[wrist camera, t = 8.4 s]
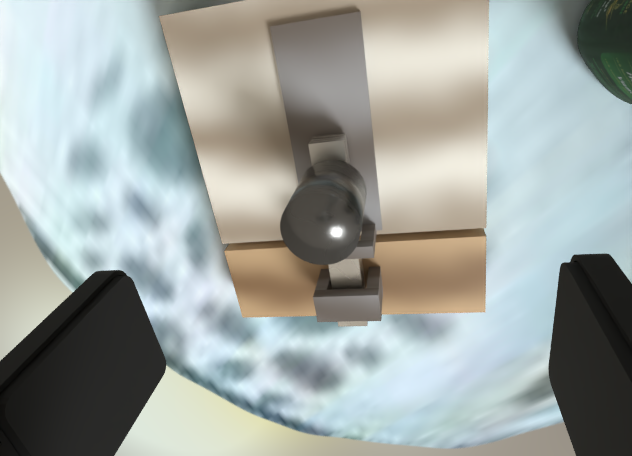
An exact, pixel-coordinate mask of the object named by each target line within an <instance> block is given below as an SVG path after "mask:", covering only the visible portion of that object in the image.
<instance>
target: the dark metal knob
mask: <svg viewBox="0 0 632 456" xmlns="http://www.w3.org/2000/svg"><path fill="white" fill-rule="evenodd" d="M308 146H309V152H310V158H311V164H312V166H311V167H309V168H308V169H307V171H306V172H305V173H304V175H303V177H302V178H301V180H300V182H299V184H298V186H297V188H296V189H295V191H294V193H293V195H292V197H291V199H290V200H289V202H288V204H287V206H286V208H285V210H284V212H283V214H282V217H281V221H280V231H281V236H282V239H283V241H284V243H285V244H286V246H287V247H288V249H289V250H290V251H291V252H292V253H293V254H294V255H296V256H297V257H298V258H300V259H302V260H304V261H306V262H309V263H312V264H317V265H328V266H329V272H330V278H331V284H332V289H361V288H366V286H365V278H364V270H363V262H362V259H345V258H347V257H348V256H349V255H350V254H352V252H353V251H354V250H355V248H356V246H357V244H358V242H359V241H360V239H359V238H360V232H361V226H362V220H363V214H364V208H365V202H366V196H367V188H366V184H365V181H364V179H363V177H362V175H361V174H360V172H359V171H358V170H357V169H356V168H355V167H353V166H352V165H350V160H349V152H348V144H347V136H346V133H341V134H332V135H323V136H314V137H312V139H311V141H310V142H309V144H308ZM367 324H368V321H345V322H338V326H367Z"/></svg>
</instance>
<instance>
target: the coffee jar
mask: <svg viewBox="0 0 632 456" xmlns="http://www.w3.org/2000/svg"><path fill="white" fill-rule="evenodd" d="M577 40H578V47H579V50H580V53H581V55H582V57H583V59H584V61H585V63H586V65H587V66H588V67H589V69H590V70H591V71H592V73H593V74H594V75H595V77H596V78H597V79H598V80H599V82H600V83H601V84H602V85H603V86H604V87H605V88H606V89H607V90H608V91H609V92H611V93H612V94H613V95H615V96H616V97H617V98H619V99H621V100H623V101H625V102H627V103H630V104H632V0H591V2H590V3H589V4H588V6H587V8H586V9H585V11H584V13H583V15H582V18H581V20H580V24H579V27H578V38H577Z"/></svg>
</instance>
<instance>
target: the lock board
mask: <svg viewBox="0 0 632 456" xmlns="http://www.w3.org/2000/svg"><path fill="white" fill-rule="evenodd" d="M159 18H160V22H161V25H162V29H163V33H164V36H165V40H166V43H167V47H168V51H169V54H170V58H171V61H172V65H173V68H174V72H175V76H176V79H177V83H178V86H179V90H180V94H181V97H182V101H183V104H184V108H185V112H186V115H187V119H188V122H189V126H190V130H191V133H192V137H193V140H194V144H195V148H196V151H197V155H198V158H199V162H200V165H201V169H202V173H203V176H204V180H205V183H206V187H207V191H208V194H209V198H210V201H211V205H212V209H213V212H214V216H215V219H216V223H217V227H218V230H219V234H220V237H221V241H222V244H227V243H230V244H229V245H228V246H227V248H226V249H225V251H224V252H225V255H226V259H227V262H228V266H229V270H230V273H231V277H232V280H233V284H234V288H235V291H236V295H237V298H238V302H239V306H240V309H241V313H242V316H243V317H285V316H317V322H345V321H381V316H382V314H422V313H467V312H485V294H486V234H485V232H484V229H483V228H486V209H487V123H488V38H489V0H244V1H238V2H233V3H228V4H222V5H217V6H211V7H206V8H201V9H195V10H190V11H184V12H179V13H173V14H168V15H163V16H159ZM341 133H346V136H347V144H348V152H349V160H350V165H352V166H353V167H355V168H356V169H357V170H358V171H359V172H360V174H361V175H362V177H363V179H364V181H365V184H366V188H367V196H366V202H365V208H364V214H363V220H362V226H361V232H360V238H359V239H360V241H359V242H358V244H357V246H356V248H355V250H354V251H353V252H352V254H350V255H349V256H348V257H347V258H345V259H362V262H363V270H364V278H365V286H366V288H361V289H332V284H331V278H330V272H329V266H328V265H317V264H312V263H309V262H306V261H304V260H302V259H300V258H298V257H297V256H296V255H294V254H293V253H292V252H291V251H290V250H289V249H288V247H287V246H286V244H285V243H284V241H283V239H282V236H281V231H280V221H281V217H282V214H283V212H284V210H285V208H286V206H287V204H288V202H289V200H290V199H291V197H292V195H293V193H294V191H295V189H296V188H297V186H298V184H299V182H300V180H301V178H302V177H303V175H304V173H305V172H306V171H307V169H308V168H309V167H311V166H312V164H311V158H310V152H309V146H308V144H309V142H310V141H311V139H312V137H314V136H323V135H332V134H341Z"/></svg>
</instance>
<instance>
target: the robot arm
mask: <svg viewBox="0 0 632 456" xmlns="http://www.w3.org/2000/svg"><path fill="white" fill-rule="evenodd" d="M165 369H166V360H165V357H164V354H163V352H162V349H161V347H160V345H159V342H158V340H157V337H156V335H155V333H154V330H153V328H152V325H151V323H150V321H149V318H148V316H147V313H146V311H145V308H144V306H143V304H142V301H141V299H140V296H139V294H138V292H137V289H136V287H135V284H134V282H133V280H132V279H131V278H130V277H129V276H127V275H126V273H124V272H123V271H120V270H111V271H97V272H95V273H93V274H92V275H91V276H90V277H89V278H88V279H87V280H86V281H85V282H84V283H83V284H82V285H80V286H79V287H78V288H77V289H76V290H75V291H74V292H73V293H72V294H71V295H70V296H69V297H68V298H67V299H66V300H65V301H64V302H62V303H61V304H60V305H59V306H58V307H57V308H56V309H55V310H54V311H53V312H52V313H51V314H50V315H49V316H48V317H47V318H45V319H44V320H43V321H42V322H41V323H40V324H39V325H38V326H37V327H36V328H35V329H34V330H33V331H32V332H31V333H30V334H29V335H28V336H26V337H25V338H24V339H23V340H22V341H21V342H20V343H19V344H18V345H17V346H16V347H15V348H14V349H13V350H12V351H10V353H8V354H7V355H6V356H5V357H4V358H3V359H2V360H1V361H0V456H114V455H115V453H116V452H117V450H118V448H119V447H120V445H121V444H122V442H123V440H124V439H125V437H126V435H127V434H128V432H129V431H130V429H131V427H132V425H133V424H134V422H135V421H136V419H137V417H138V416H139V414H140V413H141V411H142V409H143V408H144V406H145V404H146V403H147V401H148V399H149V398H150V396H151V395H152V393H153V391H154V390H155V388H156V386H157V385H158V383H159V382H160V380H161V378H162V376H163V375H164V373H165ZM549 378H550V382H551V386H552V389H553V391H554V394H555V397H556V400H557V403H558V405H559V408H560V411H561V414H562V417H563V420H564V422H565V425H566V428H567V431H568V434H569V436H570V439H571V442H572V445H573V448H574V451H575V453H576V456H632V284H631V282H630V281H629V280H628V278H627V277H626V276H625V274H624V273H623V271H622V270H621V269H620V267H619V266H618V265H617V263H616V262H615V261H614V259H613V258H612V257H611V256H610V255H609V254H581V255H574V256H572V259H571V262H569V263H562V264H561V267H560V273H559V282H558V290H557V299H556V307H555V316H554V324H553V333H552V341H551V350H550V359H549Z"/></svg>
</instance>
